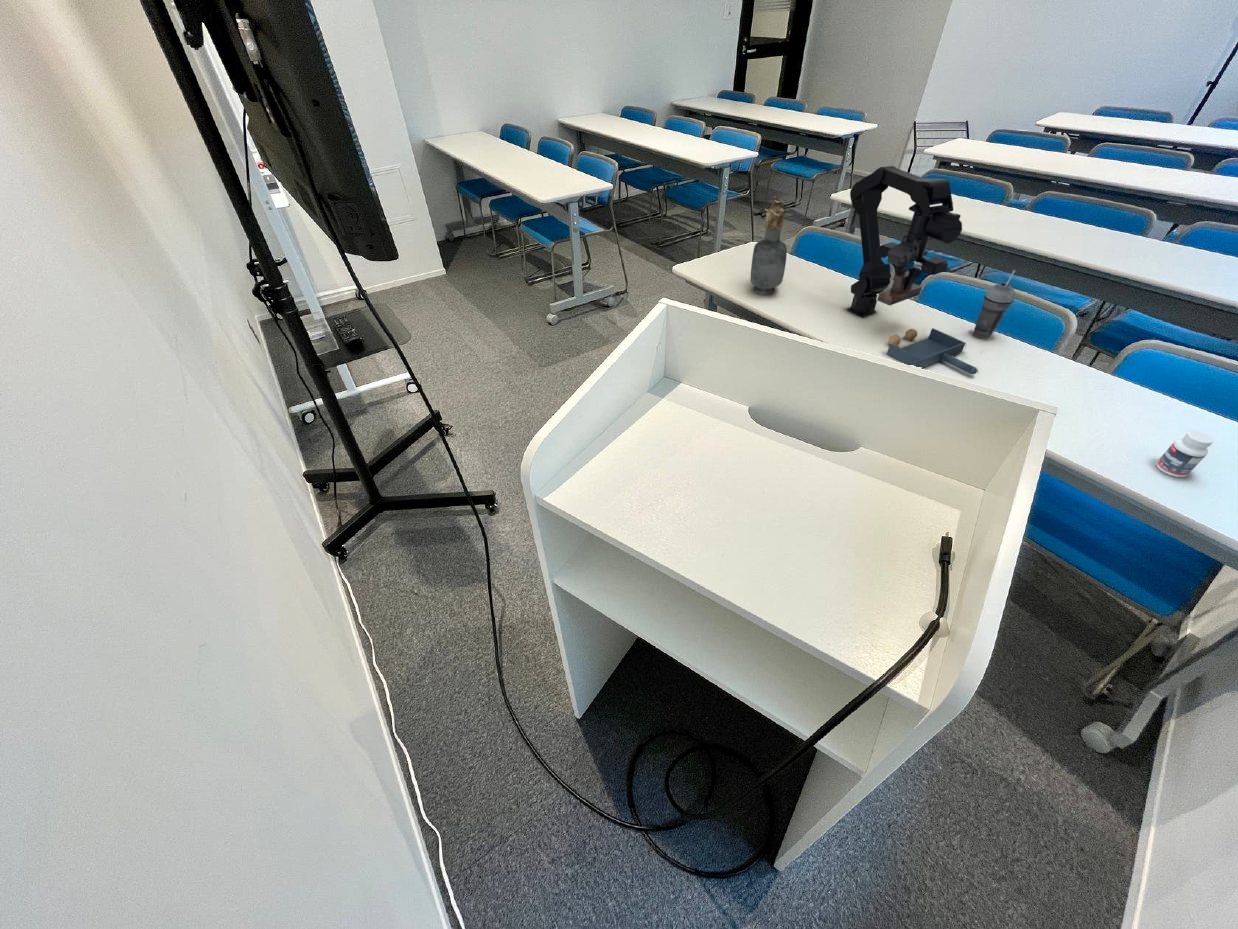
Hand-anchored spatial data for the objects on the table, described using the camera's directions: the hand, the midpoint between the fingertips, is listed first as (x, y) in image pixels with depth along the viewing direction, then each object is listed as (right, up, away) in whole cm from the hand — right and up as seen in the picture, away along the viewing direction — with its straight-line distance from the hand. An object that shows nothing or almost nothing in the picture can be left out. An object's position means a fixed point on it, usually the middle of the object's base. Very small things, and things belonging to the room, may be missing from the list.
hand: (901, 287), depth 153 cm
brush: (0, -2, +2) cm, 3 cm away
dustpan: (+7, -23, -7) cm, 25 cm away
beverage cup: (+26, -13, +4) cm, 29 cm away
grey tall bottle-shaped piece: (-31, +11, +34) cm, 47 cm away
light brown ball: (-2, -15, 0) cm, 16 cm away
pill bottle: (+35, -53, -42) cm, 76 cm away
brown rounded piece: (+4, -13, +2) cm, 14 cm away
